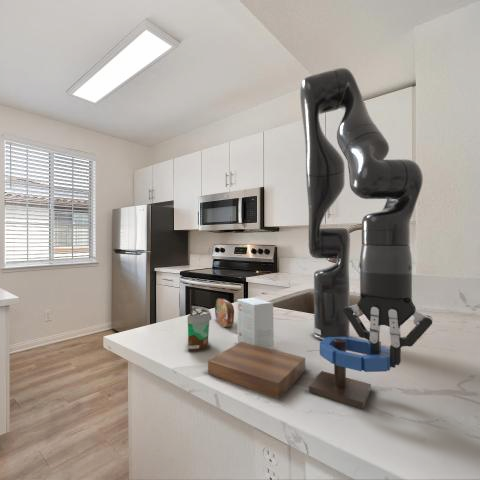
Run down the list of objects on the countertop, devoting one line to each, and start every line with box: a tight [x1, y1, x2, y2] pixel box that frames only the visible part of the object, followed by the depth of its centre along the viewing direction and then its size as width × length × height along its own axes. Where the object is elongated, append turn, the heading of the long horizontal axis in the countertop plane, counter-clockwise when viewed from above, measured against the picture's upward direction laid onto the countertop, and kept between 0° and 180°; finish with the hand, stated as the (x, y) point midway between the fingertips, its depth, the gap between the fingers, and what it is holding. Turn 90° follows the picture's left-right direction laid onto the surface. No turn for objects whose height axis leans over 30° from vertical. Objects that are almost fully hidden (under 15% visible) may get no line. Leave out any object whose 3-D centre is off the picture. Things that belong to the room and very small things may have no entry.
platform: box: [207, 342, 306, 400], centre depth 68 cm, size 16×16×3 cm
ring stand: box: [308, 339, 372, 410], centre depth 60 cm, size 9×9×10 cm
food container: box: [187, 305, 212, 353], centre depth 85 cm, size 12×6×10 cm, turn 168°
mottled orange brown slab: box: [214, 297, 235, 328], centre depth 106 cm, size 15×3×8 cm, turn 5°
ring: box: [319, 336, 392, 373], centre depth 58 cm, size 11×11×2 cm
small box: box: [236, 297, 275, 350], centre depth 83 cm, size 8×6×13 cm
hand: (385, 363), depth 55 cm, fingers closed on ring, 1 cm apart
